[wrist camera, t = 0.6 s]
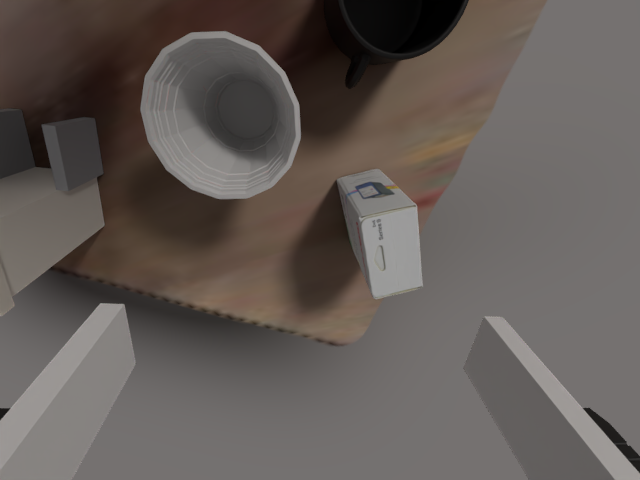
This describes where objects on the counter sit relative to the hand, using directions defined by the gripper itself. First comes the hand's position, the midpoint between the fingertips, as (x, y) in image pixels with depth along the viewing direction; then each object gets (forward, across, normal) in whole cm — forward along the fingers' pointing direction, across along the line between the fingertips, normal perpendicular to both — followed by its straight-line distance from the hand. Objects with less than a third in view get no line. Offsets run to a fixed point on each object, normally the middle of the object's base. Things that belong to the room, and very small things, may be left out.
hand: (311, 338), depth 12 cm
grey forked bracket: (+26, -24, -3) cm, 36 cm away
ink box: (+26, +8, -4) cm, 28 cm away
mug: (+26, +5, +14) cm, 30 cm away
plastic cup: (+26, -6, +5) cm, 27 cm away
